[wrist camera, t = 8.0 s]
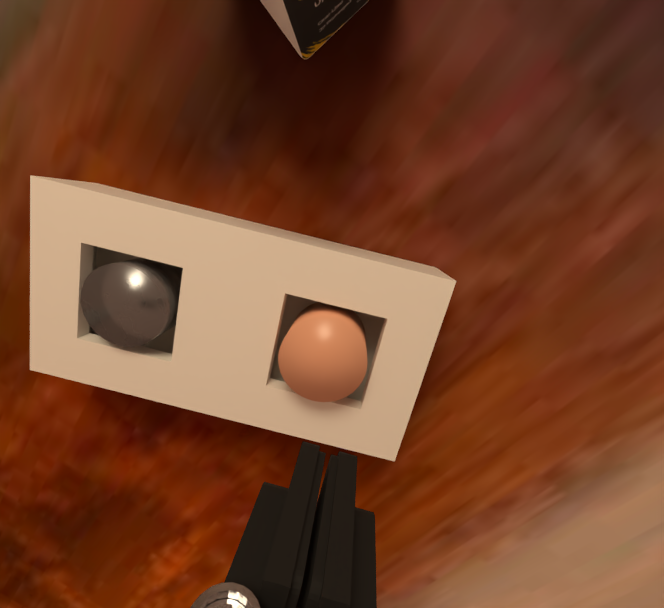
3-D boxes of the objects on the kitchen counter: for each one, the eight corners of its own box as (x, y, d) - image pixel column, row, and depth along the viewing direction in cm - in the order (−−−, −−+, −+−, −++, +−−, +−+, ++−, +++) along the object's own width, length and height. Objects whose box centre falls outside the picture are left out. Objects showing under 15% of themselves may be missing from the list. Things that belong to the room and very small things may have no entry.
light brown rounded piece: (374, 311, 22) (378, 331, 19) (354, 378, 24) (354, 411, 20) (299, 292, 22) (287, 309, 19) (284, 361, 24) (270, 390, 20)
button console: (435, 267, 24) (456, 281, 19) (387, 416, 27) (394, 461, 22) (96, 183, 24) (30, 175, 19) (88, 341, 27) (29, 369, 22)
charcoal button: (200, 265, 23) (168, 275, 19) (190, 333, 24) (159, 355, 21) (128, 247, 23) (82, 254, 19) (122, 316, 24) (78, 335, 21)
